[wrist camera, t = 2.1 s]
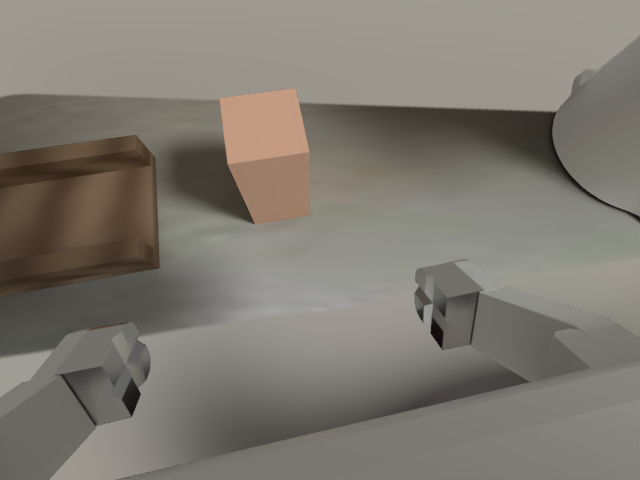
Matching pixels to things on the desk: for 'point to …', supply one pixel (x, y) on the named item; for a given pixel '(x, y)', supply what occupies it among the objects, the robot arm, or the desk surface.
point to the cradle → (77, 213)
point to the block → (268, 153)
